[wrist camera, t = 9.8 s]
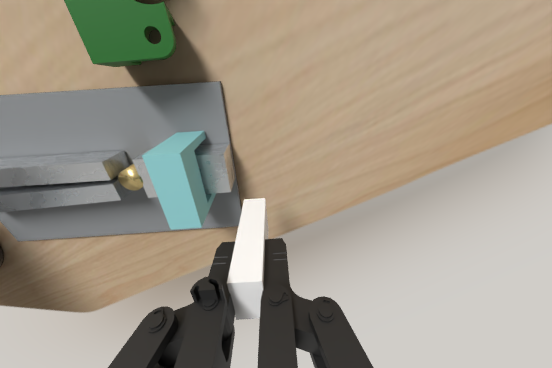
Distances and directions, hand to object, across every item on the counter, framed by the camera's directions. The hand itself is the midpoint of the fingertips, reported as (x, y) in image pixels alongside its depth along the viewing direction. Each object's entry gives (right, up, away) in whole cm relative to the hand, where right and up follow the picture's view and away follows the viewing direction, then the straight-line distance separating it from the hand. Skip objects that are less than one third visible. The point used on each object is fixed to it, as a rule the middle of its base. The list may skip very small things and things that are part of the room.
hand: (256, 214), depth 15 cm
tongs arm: (-25, +2, +10) cm, 27 cm away
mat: (-20, +4, +10) cm, 23 cm away
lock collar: (-8, +5, +9) cm, 13 cm away
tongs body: (-19, +4, +10) cm, 22 cm away
